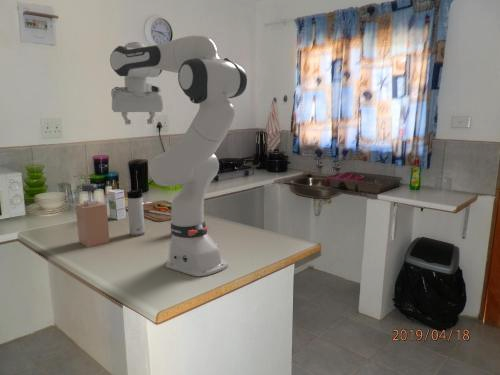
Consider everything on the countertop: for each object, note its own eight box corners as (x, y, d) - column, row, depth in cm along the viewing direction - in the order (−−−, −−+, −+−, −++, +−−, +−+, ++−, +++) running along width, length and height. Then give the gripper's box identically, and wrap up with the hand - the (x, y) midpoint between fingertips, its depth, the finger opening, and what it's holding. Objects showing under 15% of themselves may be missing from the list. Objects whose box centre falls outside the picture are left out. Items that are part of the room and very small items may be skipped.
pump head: (101, 213, 157) (99, 185, 155) (87, 216, 153) (84, 186, 151) (92, 210, 163) (90, 182, 161) (79, 212, 159) (76, 184, 157)
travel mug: (141, 236, 166) (138, 191, 162) (127, 235, 167) (124, 190, 163) (148, 232, 172) (145, 188, 168) (134, 231, 173) (131, 187, 169)
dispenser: (109, 242, 159) (106, 200, 156) (87, 247, 153) (83, 204, 150) (100, 237, 165) (97, 197, 162) (79, 242, 159) (75, 200, 156)
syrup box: (126, 217, 197) (124, 189, 194) (117, 220, 192) (114, 191, 189) (119, 216, 200) (117, 188, 197) (109, 218, 195) (107, 190, 192)
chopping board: (206, 214, 203) (206, 208, 203) (161, 224, 185) (161, 218, 184) (161, 201, 235) (161, 196, 235) (119, 209, 217) (119, 203, 216)
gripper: (114, 86, 139) (117, 124, 142) (164, 88, 153) (165, 123, 155) (107, 87, 143) (110, 124, 146) (155, 89, 157) (157, 123, 160)
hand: (139, 124), depth 151 cm, fingers open, 8 cm apart
